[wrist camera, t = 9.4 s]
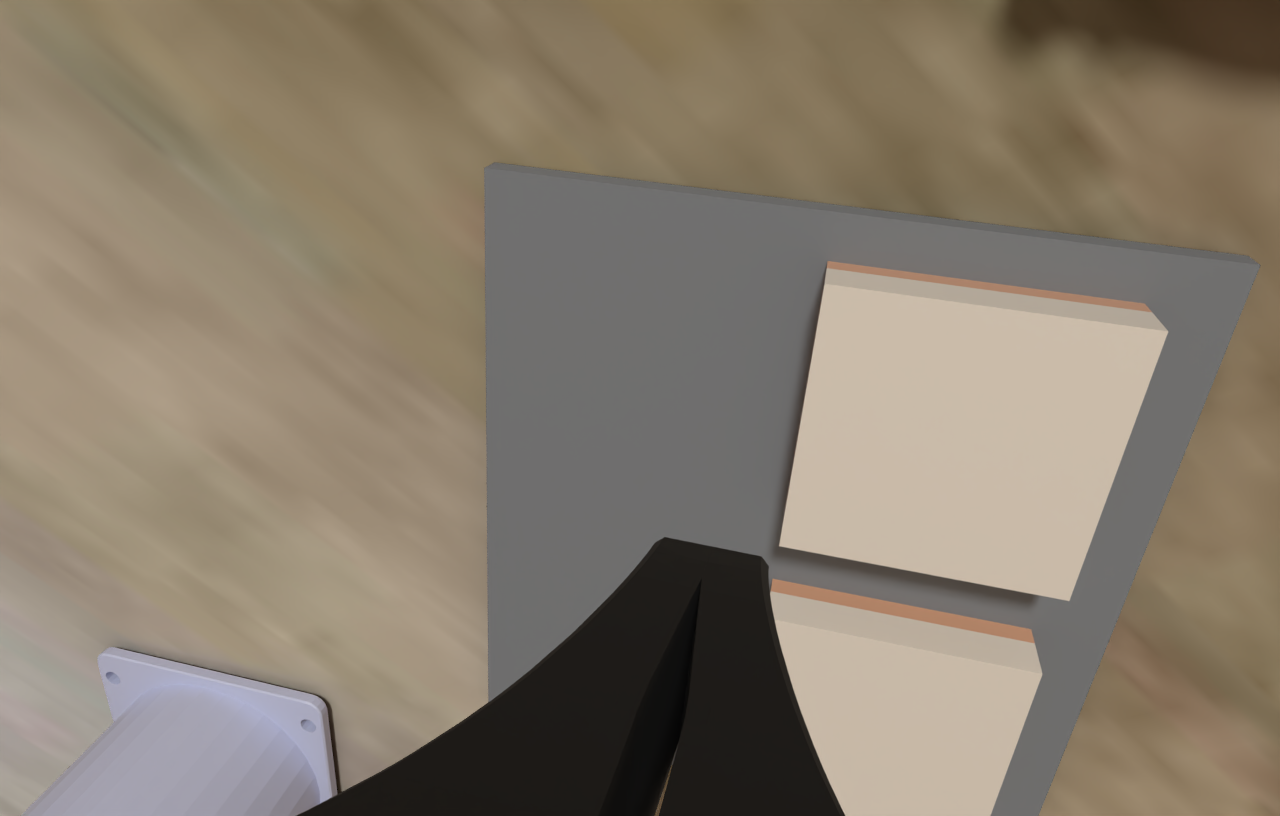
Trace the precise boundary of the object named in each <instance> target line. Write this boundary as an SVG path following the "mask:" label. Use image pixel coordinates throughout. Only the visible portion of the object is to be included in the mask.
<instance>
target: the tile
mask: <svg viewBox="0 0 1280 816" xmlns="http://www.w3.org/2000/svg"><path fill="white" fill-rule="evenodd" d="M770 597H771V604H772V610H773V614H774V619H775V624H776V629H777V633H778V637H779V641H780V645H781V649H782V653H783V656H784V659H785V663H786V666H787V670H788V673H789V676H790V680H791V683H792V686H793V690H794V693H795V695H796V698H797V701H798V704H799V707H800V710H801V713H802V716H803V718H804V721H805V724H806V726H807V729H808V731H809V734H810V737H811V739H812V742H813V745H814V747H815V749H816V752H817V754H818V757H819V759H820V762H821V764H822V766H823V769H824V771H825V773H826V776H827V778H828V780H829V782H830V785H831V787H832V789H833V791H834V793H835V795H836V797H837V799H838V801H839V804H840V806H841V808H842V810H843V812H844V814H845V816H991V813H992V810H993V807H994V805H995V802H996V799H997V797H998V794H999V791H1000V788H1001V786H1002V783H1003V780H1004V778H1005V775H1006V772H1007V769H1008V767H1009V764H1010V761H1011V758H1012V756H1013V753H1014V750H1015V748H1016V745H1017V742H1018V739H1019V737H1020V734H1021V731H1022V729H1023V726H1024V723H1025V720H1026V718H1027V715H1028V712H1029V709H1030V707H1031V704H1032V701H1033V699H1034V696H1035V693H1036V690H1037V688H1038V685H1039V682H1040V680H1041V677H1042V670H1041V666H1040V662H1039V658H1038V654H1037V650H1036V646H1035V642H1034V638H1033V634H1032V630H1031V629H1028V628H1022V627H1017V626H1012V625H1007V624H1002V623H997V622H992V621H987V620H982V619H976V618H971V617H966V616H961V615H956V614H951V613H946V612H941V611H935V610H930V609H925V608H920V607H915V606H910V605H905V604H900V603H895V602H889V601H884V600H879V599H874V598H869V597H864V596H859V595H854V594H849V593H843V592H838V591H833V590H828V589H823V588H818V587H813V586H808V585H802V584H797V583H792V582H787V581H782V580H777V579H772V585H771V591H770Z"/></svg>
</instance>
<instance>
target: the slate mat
mask: <svg viewBox="0 0 1280 816" xmlns="http://www.w3.org/2000/svg"><path fill="white" fill-rule="evenodd" d="M484 177H485V306H486V435H487V564H488V693H489V702H490V701H491V700H492V699H494V698H495V697H496V696H498V695H499V694H500V693H502V692H503V691H504V690H506V689H507V688H508V687H510V686H511V685H512V684H513V683H515V682H516V681H517V680H518V679H520V678H521V677H522V676H523V675H525V674H526V673H527V672H528V671H530V670H531V669H532V668H533V667H534V666H535V665H536V664H538V663H539V662H540V661H541V660H542V659H543V658H544V657H546V656H547V655H548V654H549V653H550V652H551V651H553V650H554V649H555V648H556V647H557V646H558V645H559V644H561V643H562V642H563V641H564V640H565V639H566V638H567V637H569V636H570V635H571V634H572V633H573V632H574V631H575V630H576V629H577V628H578V627H579V626H580V625H581V624H582V623H583V622H584V621H585V620H586V619H587V618H588V617H589V616H590V615H591V614H592V613H593V612H594V611H595V610H596V609H597V608H598V607H599V606H600V605H601V604H602V603H603V602H604V601H605V600H606V599H607V598H608V597H609V596H610V595H611V594H612V593H613V592H614V591H615V590H616V589H617V588H618V587H619V585H620V584H621V583H622V582H623V581H624V580H625V579H626V578H627V577H628V576H629V574H630V573H631V572H632V571H633V570H634V569H635V567H636V566H637V565H638V564H639V563H640V561H641V560H642V559H643V558H644V556H645V555H646V554H647V553H648V551H649V550H650V549H651V547H652V546H653V545H654V543H655V542H657V541H659V540H660V539H662V538H664V537H668V538H673V539H678V540H683V541H688V542H693V543H698V544H703V545H708V546H713V547H718V548H722V549H727V550H732V551H737V552H742V553H747V554H752V555H757V556H762V558H763V559H764V560H765V562H766V563H767V564H768V566H769V573H768V574H769V589H770V591H771V585H772V579H777V580H782V581H787V582H792V583H797V584H802V585H808V586H813V587H818V588H823V589H828V590H833V591H838V592H843V593H849V594H854V595H859V596H864V597H869V598H874V599H879V600H884V601H889V602H895V603H900V604H905V605H910V606H915V607H920V608H925V609H930V610H935V611H941V612H946V613H951V614H956V615H961V616H966V617H971V618H976V619H982V620H987V621H992V622H997V623H1002V624H1007V625H1012V626H1017V627H1022V628H1028V629H1031V630H1032V634H1033V638H1034V642H1035V646H1036V650H1037V654H1038V658H1039V662H1040V666H1041V670H1042V677H1041V680H1040V682H1039V685H1038V688H1037V690H1036V693H1035V696H1034V699H1033V701H1032V704H1031V707H1030V709H1029V712H1028V715H1027V718H1026V720H1025V723H1024V726H1023V729H1022V731H1021V734H1020V737H1019V739H1018V742H1017V745H1016V748H1015V750H1014V753H1013V756H1012V758H1011V761H1010V764H1009V767H1008V769H1007V772H1006V775H1005V778H1004V780H1003V783H1002V786H1001V788H1000V791H999V794H998V797H997V799H996V802H995V805H994V807H993V810H992V813H991V816H1038V815H1039V813H1040V810H1041V808H1042V805H1043V803H1044V800H1045V798H1046V795H1047V793H1048V790H1049V788H1050V786H1051V783H1052V781H1053V778H1054V776H1055V773H1056V771H1057V768H1058V766H1059V763H1060V761H1061V758H1062V756H1063V753H1064V751H1065V748H1066V746H1067V743H1068V741H1069V738H1070V736H1071V733H1072V731H1073V729H1074V726H1075V724H1076V721H1077V719H1078V716H1079V714H1080V711H1081V709H1082V706H1083V704H1084V701H1085V699H1086V696H1087V694H1088V691H1089V689H1090V686H1091V684H1092V681H1093V679H1094V676H1095V674H1096V672H1097V669H1098V667H1099V664H1100V662H1101V659H1102V657H1103V654H1104V652H1105V649H1106V647H1107V644H1108V642H1109V639H1110V637H1111V634H1112V632H1113V629H1114V627H1115V624H1116V622H1117V619H1118V617H1119V614H1120V612H1121V610H1122V607H1123V605H1124V602H1125V600H1126V597H1127V595H1128V592H1129V590H1130V587H1131V585H1132V582H1133V580H1134V577H1135V575H1136V572H1137V570H1138V567H1139V565H1140V562H1141V560H1142V557H1143V555H1144V553H1145V550H1146V548H1147V545H1148V543H1149V540H1150V538H1151V535H1152V533H1153V530H1154V528H1155V525H1156V523H1157V520H1158V518H1159V515H1160V513H1161V510H1162V508H1163V505H1164V503H1165V500H1166V498H1167V496H1168V493H1169V491H1170V488H1171V486H1172V483H1173V481H1174V478H1175V476H1176V473H1177V471H1178V468H1179V466H1180V463H1181V461H1182V458H1183V456H1184V453H1185V451H1186V448H1187V446H1188V443H1189V441H1190V439H1191V436H1192V434H1193V431H1194V429H1195V426H1196V424H1197V421H1198V419H1199V416H1200V414H1201V411H1202V409H1203V406H1204V404H1205V401H1206V399H1207V396H1208V394H1209V391H1210V389H1211V386H1212V384H1213V382H1214V379H1215V377H1216V374H1217V372H1218V369H1219V367H1220V364H1221V362H1222V359H1223V357H1224V354H1225V352H1226V349H1227V347H1228V344H1229V342H1230V339H1231V337H1232V334H1233V332H1234V329H1235V327H1236V325H1237V322H1238V320H1239V317H1240V315H1241V312H1242V310H1243V307H1244V305H1245V302H1246V300H1247V297H1248V295H1249V292H1250V290H1251V287H1252V285H1253V282H1254V280H1255V277H1256V275H1257V272H1258V270H1259V268H1260V264H1258V263H1257V262H1256V261H1254V260H1253V259H1252V258H1250V257H1249V256H1245V255H1237V254H1229V253H1220V252H1212V251H1204V250H1196V249H1188V248H1180V247H1172V246H1164V245H1156V244H1148V243H1140V242H1132V241H1124V240H1116V239H1108V238H1099V237H1091V236H1083V235H1075V234H1067V233H1059V232H1051V231H1043V230H1035V229H1027V228H1019V227H1011V226H1003V225H995V224H987V223H979V222H970V221H962V220H954V219H946V218H938V217H930V216H922V215H914V214H906V213H898V212H890V211H882V210H874V209H866V208H858V207H849V206H841V205H833V204H825V203H817V202H809V201H801V200H793V199H785V198H777V197H769V196H761V195H753V194H745V193H737V192H728V191H720V190H712V189H704V188H696V187H688V186H680V185H672V184H664V183H656V182H648V181H640V180H632V179H624V178H616V177H608V176H599V175H591V174H583V173H575V172H567V171H559V170H551V169H543V168H535V167H527V166H519V165H511V164H503V163H493V164H491V165H489V166H487V167H485V168H484ZM828 261H832V262H839V263H847V264H854V265H862V266H869V267H876V268H884V269H891V270H899V271H906V272H914V273H921V274H928V275H936V276H943V277H951V278H958V279H966V280H973V281H981V282H988V283H995V284H1003V285H1010V286H1018V287H1025V288H1033V289H1040V290H1047V291H1055V292H1062V293H1070V294H1077V295H1085V296H1092V297H1099V298H1107V299H1114V300H1122V301H1129V302H1137V303H1144V304H1146V306H1147V307H1148V308H1149V309H1150V310H1151V311H1152V313H1153V314H1154V315H1155V316H1156V317H1157V319H1158V320H1159V321H1160V322H1161V323H1162V325H1163V326H1164V327H1165V328H1166V329H1167V330H1168V334H1167V337H1166V339H1165V342H1164V345H1163V347H1162V350H1161V353H1160V356H1159V358H1158V361H1157V364H1156V366H1155V369H1154V372H1153V375H1152V377H1151V380H1150V383H1149V386H1148V388H1147V391H1146V394H1145V396H1144V399H1143V402H1142V405H1141V407H1140V410H1139V413H1138V415H1137V418H1136V421H1135V424H1134V426H1133V429H1132V432H1131V435H1130V437H1129V440H1128V443H1127V445H1126V448H1125V451H1124V454H1123V456H1122V459H1121V462H1120V464H1119V467H1118V470H1117V473H1116V475H1115V478H1114V481H1113V483H1112V486H1111V489H1110V492H1109V494H1108V497H1107V500H1106V503H1105V505H1104V508H1103V511H1102V513H1101V516H1100V519H1099V522H1098V524H1097V527H1096V530H1095V532H1094V535H1093V538H1092V541H1091V543H1090V546H1089V549H1088V551H1087V554H1086V557H1085V560H1084V562H1083V565H1082V568H1081V571H1080V573H1079V576H1078V579H1077V581H1076V584H1075V587H1074V590H1073V592H1072V595H1071V598H1070V600H1069V601H1066V600H1061V599H1056V598H1050V597H1045V596H1040V595H1035V594H1029V593H1024V592H1019V591H1013V590H1008V589H1003V588H998V587H992V586H987V585H982V584H976V583H971V582H966V581H961V580H955V579H950V578H945V577H939V576H934V575H929V574H924V573H918V572H913V571H908V570H902V569H897V568H892V567H887V566H881V565H876V564H871V563H865V562H860V561H855V560H850V559H844V558H839V557H834V556H828V555H823V554H818V553H813V552H807V551H802V550H797V549H791V548H786V547H781V546H779V543H780V536H781V530H782V523H783V516H784V510H785V504H786V498H787V492H788V487H789V481H790V475H791V469H792V464H793V458H794V452H795V446H796V440H797V435H798V429H799V423H800V417H801V412H802V406H803V400H804V394H805V389H806V383H807V377H808V371H809V366H810V360H811V354H812V348H813V343H814V337H815V331H816V325H817V319H818V314H819V308H820V302H821V296H822V291H823V285H824V279H825V273H826V268H827V262H828ZM677 747H678V746H677ZM676 751H677V749H676ZM675 754H676V752H675ZM674 758H675V755H674ZM674 758H673V761H672V764H671V765H673V762H674Z"/></svg>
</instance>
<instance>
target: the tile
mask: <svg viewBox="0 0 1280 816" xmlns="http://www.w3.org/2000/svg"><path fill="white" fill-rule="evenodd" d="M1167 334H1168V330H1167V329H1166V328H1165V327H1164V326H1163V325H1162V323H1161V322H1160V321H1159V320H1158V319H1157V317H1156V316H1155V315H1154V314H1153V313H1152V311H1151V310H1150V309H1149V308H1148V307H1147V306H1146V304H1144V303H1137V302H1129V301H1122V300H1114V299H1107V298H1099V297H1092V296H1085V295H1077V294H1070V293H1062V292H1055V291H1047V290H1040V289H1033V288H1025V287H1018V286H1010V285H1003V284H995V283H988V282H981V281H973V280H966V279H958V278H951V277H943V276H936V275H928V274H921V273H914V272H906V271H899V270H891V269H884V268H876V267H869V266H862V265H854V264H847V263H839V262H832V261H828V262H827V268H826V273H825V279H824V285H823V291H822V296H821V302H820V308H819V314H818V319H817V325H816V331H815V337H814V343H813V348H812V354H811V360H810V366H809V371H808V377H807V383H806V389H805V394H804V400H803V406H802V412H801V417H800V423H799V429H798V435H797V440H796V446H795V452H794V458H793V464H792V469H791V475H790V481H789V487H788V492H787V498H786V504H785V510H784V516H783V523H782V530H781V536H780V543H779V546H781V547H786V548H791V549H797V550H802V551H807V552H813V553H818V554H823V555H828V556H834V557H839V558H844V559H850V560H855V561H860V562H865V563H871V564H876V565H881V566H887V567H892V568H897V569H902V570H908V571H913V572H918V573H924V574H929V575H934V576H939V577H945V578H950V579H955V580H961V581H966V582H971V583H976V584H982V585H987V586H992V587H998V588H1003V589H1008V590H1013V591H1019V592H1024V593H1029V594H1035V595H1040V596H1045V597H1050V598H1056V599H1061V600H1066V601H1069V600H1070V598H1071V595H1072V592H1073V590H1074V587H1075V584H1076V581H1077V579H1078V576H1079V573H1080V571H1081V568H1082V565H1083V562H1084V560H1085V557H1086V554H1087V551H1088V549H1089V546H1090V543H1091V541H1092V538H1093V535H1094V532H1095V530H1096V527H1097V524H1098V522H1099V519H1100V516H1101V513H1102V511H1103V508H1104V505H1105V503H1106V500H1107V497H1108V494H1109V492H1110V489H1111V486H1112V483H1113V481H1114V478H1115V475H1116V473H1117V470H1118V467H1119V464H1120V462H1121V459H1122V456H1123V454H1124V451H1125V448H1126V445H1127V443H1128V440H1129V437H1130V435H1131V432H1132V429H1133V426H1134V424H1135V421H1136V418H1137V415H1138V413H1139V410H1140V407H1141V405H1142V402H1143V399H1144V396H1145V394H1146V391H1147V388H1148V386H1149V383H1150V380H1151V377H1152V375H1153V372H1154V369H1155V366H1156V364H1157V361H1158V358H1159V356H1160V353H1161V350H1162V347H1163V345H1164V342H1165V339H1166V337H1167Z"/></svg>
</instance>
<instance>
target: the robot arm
mask: <svg viewBox="0 0 1280 816" xmlns="http://www.w3.org/2000/svg"><path fill="white" fill-rule="evenodd" d="M768 573H769V566H768V564H767V563H766V562H765V560H764V559H763V558H762V556H757V555H752V554H747V553H742V552H737V551H732V550H727V549H722V548H718V547H713V546H708V545H703V544H698V543H693V542H688V541H683V540H678V539H673V538H668V537H664V538H662V539H660V540H659V541H657V542H655V543H654V545H653V546H652V547H651V549H650V550H649V551H648V553H647V554H646V555H645V556H644V558H643V559H642V560H641V561H640V563H639V564H638V565H637V566H636V567H635V569H634V570H633V571H632V572H631V573H630V574H629V576H628V577H627V578H626V579H625V580H624V581H623V582H622V583H621V584H620V585H619V587H618V588H617V589H616V590H615V591H614V592H613V593H612V594H611V595H610V596H609V597H608V598H607V599H606V600H605V601H604V602H603V603H602V604H601V605H600V606H599V607H598V608H597V609H596V610H595V611H594V612H593V613H592V614H591V615H590V616H589V617H588V618H587V619H586V620H585V621H584V622H583V623H582V624H581V625H580V626H579V627H578V628H577V629H576V630H575V631H574V632H573V633H572V634H571V635H570V636H569V637H567V638H566V639H565V640H564V641H563V642H562V643H561V644H559V645H558V646H557V647H556V648H555V649H554V650H553V651H551V652H550V653H549V654H548V655H547V656H546V657H544V658H543V659H542V660H541V661H540V662H539V663H538V664H536V665H535V666H534V667H533V668H532V669H531V670H530V671H528V672H527V673H526V674H525V675H523V676H522V677H521V678H520V679H518V680H517V681H516V682H515V683H513V684H512V685H511V686H510V687H508V688H507V689H506V690H504V691H503V692H502V693H500V694H499V695H498V696H496V697H495V698H494V699H492V700H491V701H490V702H488V703H487V704H486V705H484V706H483V707H481V708H480V709H479V710H477V711H476V712H474V713H473V714H472V715H470V716H469V717H467V718H466V719H464V720H463V721H462V722H460V723H459V724H457V725H455V726H454V727H452V728H451V729H449V730H448V731H446V732H445V733H443V734H441V735H440V736H438V737H437V738H435V739H434V740H432V741H431V742H429V743H427V744H426V745H424V746H423V747H421V748H420V749H418V750H417V751H415V752H413V753H412V754H410V755H408V756H407V757H405V758H403V759H402V760H400V761H398V762H397V763H395V764H393V765H392V766H390V767H388V768H386V769H385V770H383V771H381V772H379V773H377V774H376V775H374V776H372V777H370V778H368V779H366V780H364V781H362V782H360V783H358V784H356V785H354V786H353V787H351V788H349V789H347V790H345V791H343V792H341V793H339V794H337V786H336V777H335V769H334V761H333V752H332V744H331V736H330V727H329V719H328V711H327V707H326V704H325V703H324V701H323V700H322V699H320V698H319V697H318V696H315V695H313V694H309V693H305V692H301V691H296V690H292V689H288V688H284V687H280V686H275V685H271V684H267V683H263V682H259V681H254V680H250V679H246V678H242V677H237V676H233V675H229V674H225V673H221V672H216V671H212V670H208V669H204V668H200V667H195V666H191V665H187V664H183V663H179V662H174V661H170V660H166V659H162V658H158V657H153V656H149V655H145V654H141V653H136V652H132V651H128V650H124V649H120V648H114V647H109V648H107V649H105V650H104V651H103V652H102V653H101V654H100V655H99V656H98V666H99V670H100V673H101V677H102V681H103V684H104V688H105V692H106V696H107V699H108V703H109V707H110V710H111V714H112V718H113V721H114V723H113V724H112V725H111V726H110V727H109V728H108V729H107V730H106V731H105V732H104V733H103V734H102V735H101V736H100V737H99V738H98V739H97V740H96V741H95V742H94V743H93V744H92V745H91V746H90V747H89V748H88V749H87V750H86V751H85V752H84V753H83V754H82V755H81V756H80V757H79V758H78V759H77V760H76V761H75V762H74V763H73V764H72V765H71V766H70V767H69V768H68V769H67V770H66V771H65V772H64V773H63V774H62V775H61V776H60V777H59V778H58V779H57V780H56V781H55V782H54V783H53V784H52V785H51V786H50V787H49V788H48V789H47V790H46V791H45V792H44V793H43V794H42V795H41V796H40V797H39V798H38V799H37V800H36V801H35V802H34V803H33V804H32V805H31V806H30V807H29V808H28V809H27V810H26V811H25V812H24V813H23V814H22V815H21V816H654V815H655V812H656V809H657V806H658V803H659V800H660V797H661V794H662V791H663V788H664V785H665V782H666V779H667V776H668V773H669V770H670V767H671V764H672V761H673V758H674V755H675V758H674V762H673V766H672V770H671V773H670V777H669V781H668V785H667V788H666V792H665V796H664V799H663V803H662V806H661V810H660V814H659V816H845V814H844V812H843V810H842V808H841V806H840V804H839V801H838V799H837V797H836V795H835V793H834V791H833V789H832V787H831V785H830V782H829V780H828V778H827V776H826V773H825V771H824V769H823V766H822V764H821V762H820V759H819V757H818V754H817V752H816V749H815V747H814V745H813V742H812V739H811V737H810V734H809V731H808V729H807V726H806V724H805V721H804V718H803V716H802V713H801V710H800V707H799V704H798V701H797V698H796V695H795V693H794V690H793V686H792V683H791V680H790V676H789V673H788V670H787V666H786V663H785V659H784V656H783V653H782V649H781V645H780V641H779V637H778V633H777V629H776V624H775V619H774V614H773V610H772V604H771V597H770V589H769V574H768ZM677 746H678V747H677ZM676 749H677V751H676ZM675 752H676V754H675Z"/></svg>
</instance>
